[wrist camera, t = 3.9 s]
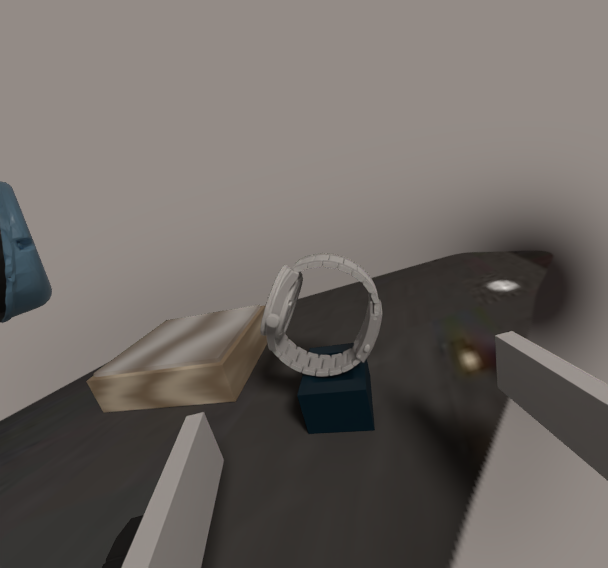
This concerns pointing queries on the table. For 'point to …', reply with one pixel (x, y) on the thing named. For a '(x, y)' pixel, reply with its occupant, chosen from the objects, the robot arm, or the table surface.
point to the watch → (326, 352)
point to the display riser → (184, 362)
